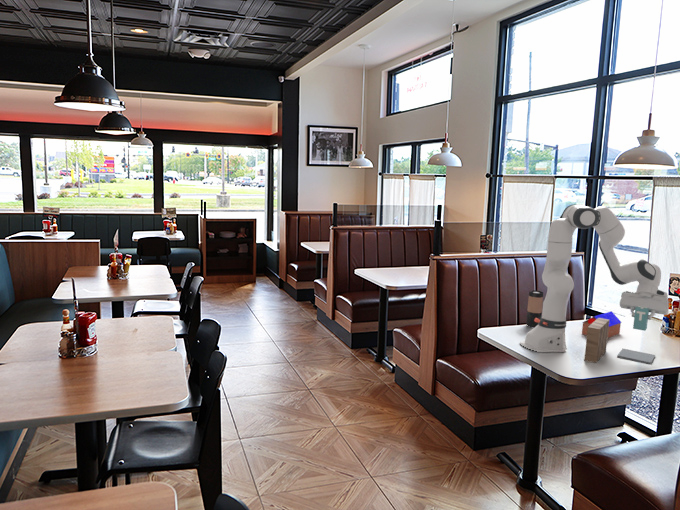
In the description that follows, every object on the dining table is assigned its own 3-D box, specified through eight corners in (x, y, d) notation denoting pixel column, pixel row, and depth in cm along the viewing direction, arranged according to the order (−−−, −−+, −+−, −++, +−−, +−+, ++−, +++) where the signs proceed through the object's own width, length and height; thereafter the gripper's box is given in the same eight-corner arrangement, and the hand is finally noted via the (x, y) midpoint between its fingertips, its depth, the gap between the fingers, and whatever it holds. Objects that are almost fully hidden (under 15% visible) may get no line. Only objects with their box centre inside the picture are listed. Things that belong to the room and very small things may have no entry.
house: (620, 334, 286) (622, 313, 284) (602, 340, 274) (605, 318, 272) (598, 328, 295) (600, 308, 294) (580, 334, 283) (583, 313, 281)
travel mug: (541, 328, 291) (544, 293, 288) (527, 327, 292) (530, 292, 289) (539, 324, 298) (542, 290, 295) (525, 323, 300) (528, 289, 297)
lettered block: (645, 330, 242) (647, 309, 241) (633, 328, 245) (635, 307, 244) (646, 328, 246) (649, 307, 245) (634, 326, 249) (637, 305, 248)
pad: (650, 364, 239) (651, 362, 239) (617, 357, 247) (617, 355, 247) (655, 356, 250) (655, 354, 250) (622, 349, 258) (622, 348, 258)
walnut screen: (595, 362, 238) (599, 329, 236) (584, 360, 241) (587, 327, 239) (605, 351, 255) (609, 319, 253) (594, 348, 258) (598, 317, 256)
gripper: (622, 287, 255) (616, 310, 249) (671, 293, 242) (665, 318, 236) (622, 294, 259) (616, 317, 253) (671, 301, 247) (666, 325, 240)
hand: (641, 317), depth 244 cm, fingers closed on lettered block, 5 cm apart
